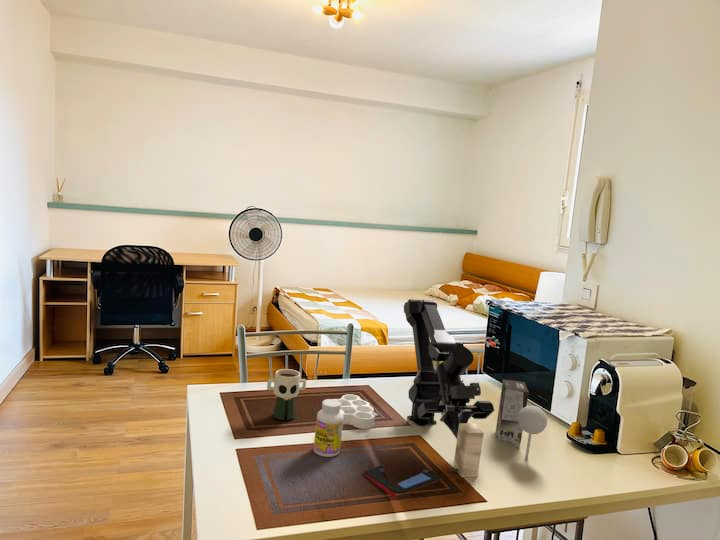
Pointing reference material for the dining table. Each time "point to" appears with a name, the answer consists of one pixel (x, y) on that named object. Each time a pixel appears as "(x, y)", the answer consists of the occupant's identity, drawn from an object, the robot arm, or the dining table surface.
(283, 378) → the character mug
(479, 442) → the white rectangular box
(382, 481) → the game console
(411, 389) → the robot arm
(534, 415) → the lollipop
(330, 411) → the supplement bottle
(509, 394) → the coffee box
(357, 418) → the white cup cluster
